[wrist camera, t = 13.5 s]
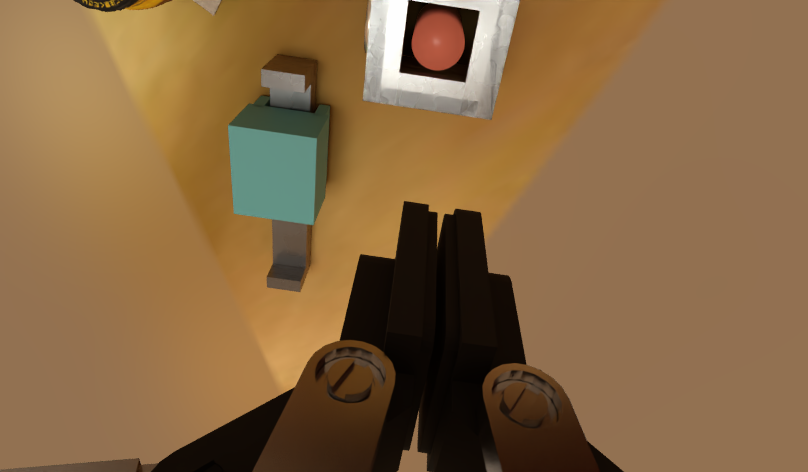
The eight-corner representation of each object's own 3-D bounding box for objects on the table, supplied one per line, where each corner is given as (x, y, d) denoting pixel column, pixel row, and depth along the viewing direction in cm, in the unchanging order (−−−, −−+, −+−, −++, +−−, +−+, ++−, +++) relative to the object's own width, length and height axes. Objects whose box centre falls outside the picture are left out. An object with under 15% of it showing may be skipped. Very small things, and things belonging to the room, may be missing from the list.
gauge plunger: (419, -3, 32) (415, 11, 28) (466, 4, 32) (469, 19, 28) (412, 45, 34) (408, 66, 29) (457, 52, 34) (459, 74, 29)
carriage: (257, 94, 39) (227, 125, 34) (334, 106, 39) (316, 138, 34) (259, 175, 43) (233, 213, 38) (329, 185, 43) (313, 225, 38)
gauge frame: (383, -59, 33) (368, -49, 26) (509, -39, 33) (525, -25, 27) (371, 64, 38) (356, 99, 31) (482, 81, 38) (491, 119, 31)
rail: (277, 54, 38) (261, 69, 34) (317, 60, 38) (304, 75, 34) (279, 260, 48) (266, 287, 45) (310, 265, 48) (300, 292, 45)
